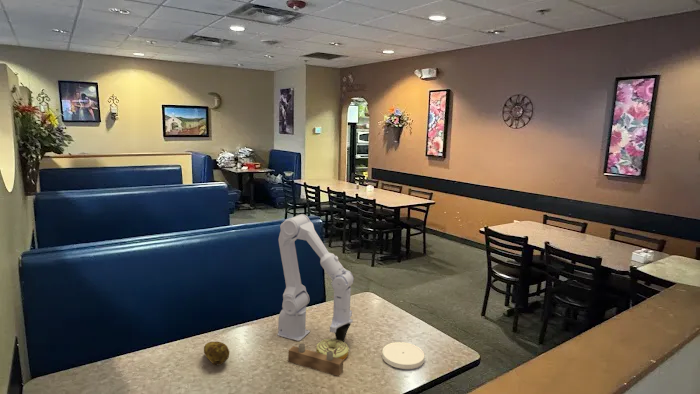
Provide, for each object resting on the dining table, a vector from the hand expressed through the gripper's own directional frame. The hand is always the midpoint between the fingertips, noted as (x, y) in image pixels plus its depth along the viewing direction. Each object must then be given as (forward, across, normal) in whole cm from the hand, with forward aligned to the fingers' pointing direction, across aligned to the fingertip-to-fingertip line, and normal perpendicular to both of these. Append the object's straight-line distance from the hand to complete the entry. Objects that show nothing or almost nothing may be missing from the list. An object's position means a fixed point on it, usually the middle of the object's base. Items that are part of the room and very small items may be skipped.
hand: (340, 342), depth 146 cm
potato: (+1, -27, +31) cm, 41 cm away
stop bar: (+1, -15, +2) cm, 15 cm away
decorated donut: (+1, -6, 0) cm, 7 cm away
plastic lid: (+2, +2, -22) cm, 22 cm away
